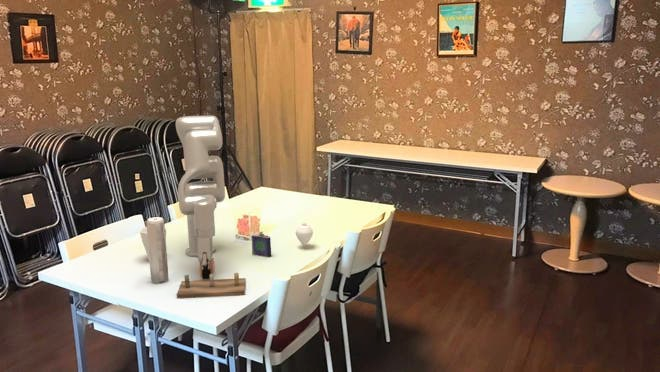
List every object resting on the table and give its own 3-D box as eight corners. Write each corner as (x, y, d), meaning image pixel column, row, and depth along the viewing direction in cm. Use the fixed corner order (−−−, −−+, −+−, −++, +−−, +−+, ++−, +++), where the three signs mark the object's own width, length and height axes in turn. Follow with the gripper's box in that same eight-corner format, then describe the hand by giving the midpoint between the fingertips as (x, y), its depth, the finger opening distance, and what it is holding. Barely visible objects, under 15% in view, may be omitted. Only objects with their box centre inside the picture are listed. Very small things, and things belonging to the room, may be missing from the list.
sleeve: (201, 275, 219) (200, 258, 217) (215, 274, 219) (214, 257, 218) (199, 280, 214) (198, 263, 212) (213, 279, 214) (213, 262, 212)
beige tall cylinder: (170, 277, 217) (166, 216, 211) (166, 283, 210) (161, 221, 205) (153, 277, 217) (148, 216, 211) (149, 284, 210) (143, 221, 204)
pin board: (181, 284, 210) (180, 269, 208) (245, 281, 212) (245, 267, 211) (176, 298, 198) (175, 282, 197) (244, 295, 201) (243, 279, 199)
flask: (251, 254, 241) (250, 231, 238) (254, 252, 243) (254, 229, 241) (269, 258, 237) (268, 234, 234) (272, 255, 239) (272, 232, 237)
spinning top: (314, 245, 252) (313, 220, 249) (311, 251, 245) (311, 225, 242) (297, 244, 253) (297, 219, 250) (294, 250, 245) (294, 224, 243)
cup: (160, 265, 229) (158, 234, 226) (137, 263, 231) (135, 232, 228) (172, 256, 239) (170, 226, 236) (150, 254, 241) (148, 224, 238)
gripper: (197, 225, 220) (200, 267, 224) (192, 239, 203) (195, 284, 208) (216, 224, 221) (219, 266, 225) (212, 238, 204) (215, 283, 208)
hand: (207, 275), depth 216 cm, fingers closed on sleeve, 5 cm apart
